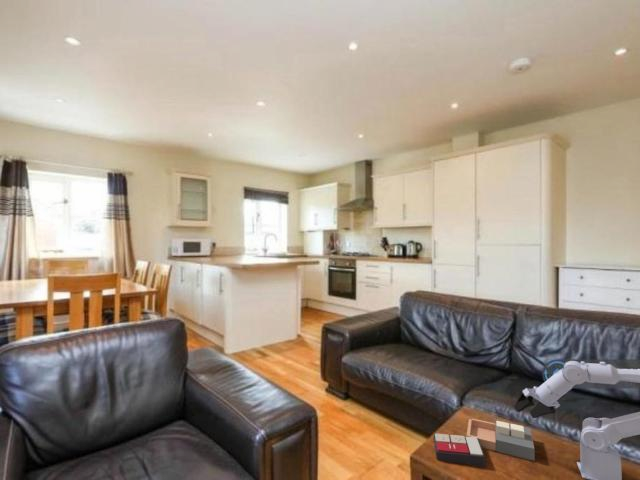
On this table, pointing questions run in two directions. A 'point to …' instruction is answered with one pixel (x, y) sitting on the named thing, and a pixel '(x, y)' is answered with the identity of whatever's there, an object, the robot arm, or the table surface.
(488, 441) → the box
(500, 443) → the grey rectangular block
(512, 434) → the tile
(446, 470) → the table surface
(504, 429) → the tile
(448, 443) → the calculator
